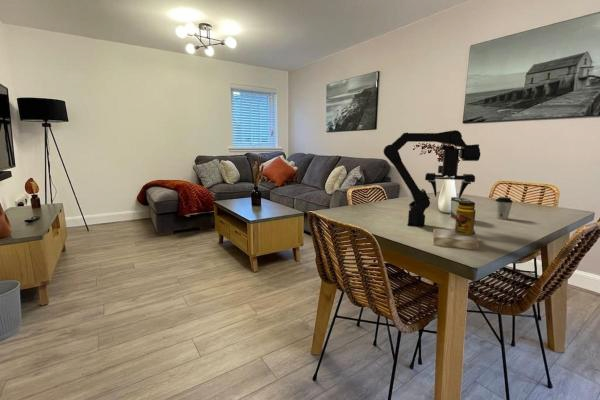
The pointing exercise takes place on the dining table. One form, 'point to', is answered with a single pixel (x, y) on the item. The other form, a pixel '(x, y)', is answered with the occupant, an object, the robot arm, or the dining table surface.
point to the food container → (456, 205)
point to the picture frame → (454, 239)
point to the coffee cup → (503, 207)
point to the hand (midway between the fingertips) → (447, 197)
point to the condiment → (465, 219)
